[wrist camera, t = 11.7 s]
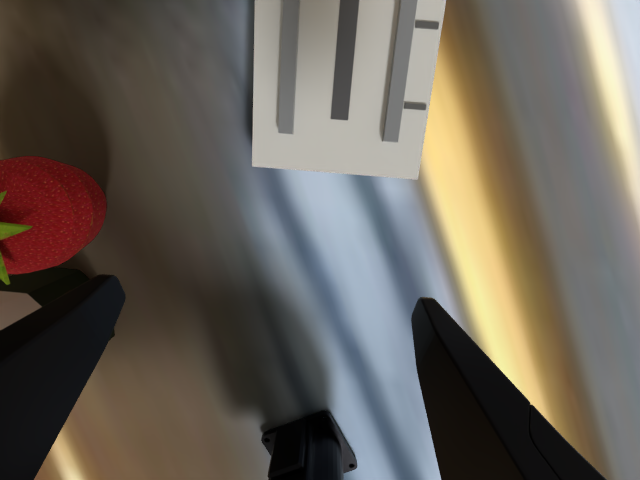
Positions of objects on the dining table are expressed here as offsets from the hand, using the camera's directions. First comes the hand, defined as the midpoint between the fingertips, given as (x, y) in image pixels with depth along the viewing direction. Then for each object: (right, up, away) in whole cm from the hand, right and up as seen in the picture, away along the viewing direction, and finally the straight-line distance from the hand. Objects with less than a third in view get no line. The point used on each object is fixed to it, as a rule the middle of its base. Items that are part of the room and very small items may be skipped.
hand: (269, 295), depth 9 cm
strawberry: (-14, +4, +13) cm, 20 cm away
